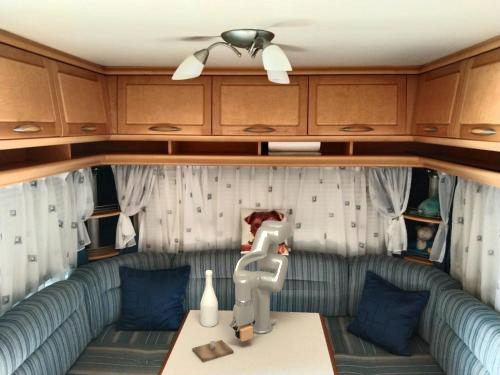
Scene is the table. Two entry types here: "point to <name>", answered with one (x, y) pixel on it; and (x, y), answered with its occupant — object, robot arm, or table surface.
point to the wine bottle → (209, 304)
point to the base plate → (212, 350)
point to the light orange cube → (246, 332)
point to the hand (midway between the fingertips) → (244, 335)
